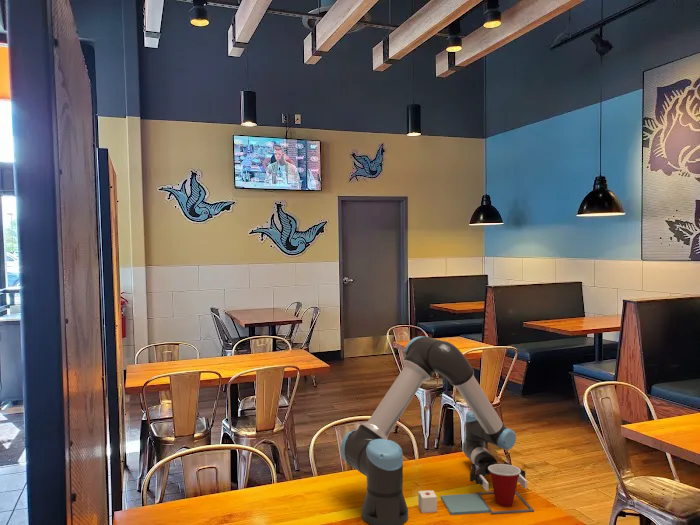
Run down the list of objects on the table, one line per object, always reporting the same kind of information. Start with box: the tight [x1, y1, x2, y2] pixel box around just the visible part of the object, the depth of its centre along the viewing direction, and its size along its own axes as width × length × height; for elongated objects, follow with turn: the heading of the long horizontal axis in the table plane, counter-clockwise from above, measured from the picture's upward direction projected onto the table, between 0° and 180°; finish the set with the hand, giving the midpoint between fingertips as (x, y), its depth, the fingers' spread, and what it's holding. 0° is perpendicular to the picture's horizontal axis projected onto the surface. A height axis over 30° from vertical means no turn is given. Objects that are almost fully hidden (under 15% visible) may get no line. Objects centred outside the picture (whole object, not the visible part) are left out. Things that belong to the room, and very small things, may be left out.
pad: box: [440, 492, 490, 516], centre depth 185 cm, size 13×12×1 cm
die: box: [417, 489, 438, 514], centre depth 182 cm, size 5×5×5 cm
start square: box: [476, 490, 535, 515], centre depth 186 cm, size 15×15×1 cm
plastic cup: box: [488, 463, 522, 508], centre depth 186 cm, size 11×11×12 cm
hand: (506, 485), depth 184 cm, fingers open, 13 cm apart
